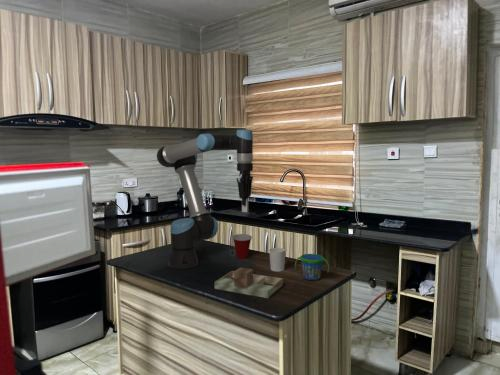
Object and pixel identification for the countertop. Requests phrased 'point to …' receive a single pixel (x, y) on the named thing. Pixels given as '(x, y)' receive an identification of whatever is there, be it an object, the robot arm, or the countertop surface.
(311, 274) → the snack cup
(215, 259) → the countertop surface
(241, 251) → the plastic cup
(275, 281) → the frame
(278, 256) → the white cup
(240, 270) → the walnut block
